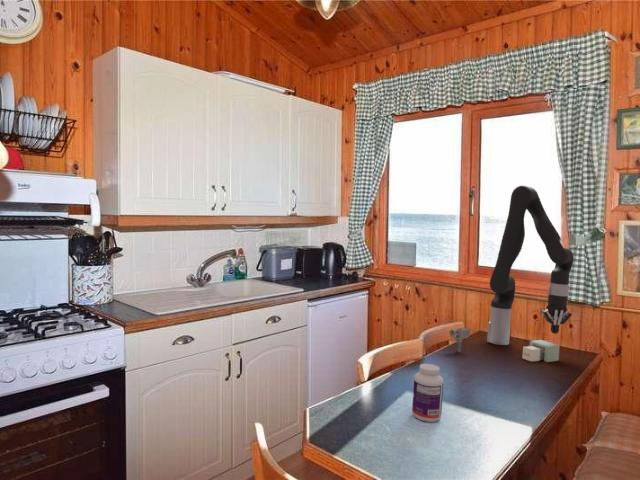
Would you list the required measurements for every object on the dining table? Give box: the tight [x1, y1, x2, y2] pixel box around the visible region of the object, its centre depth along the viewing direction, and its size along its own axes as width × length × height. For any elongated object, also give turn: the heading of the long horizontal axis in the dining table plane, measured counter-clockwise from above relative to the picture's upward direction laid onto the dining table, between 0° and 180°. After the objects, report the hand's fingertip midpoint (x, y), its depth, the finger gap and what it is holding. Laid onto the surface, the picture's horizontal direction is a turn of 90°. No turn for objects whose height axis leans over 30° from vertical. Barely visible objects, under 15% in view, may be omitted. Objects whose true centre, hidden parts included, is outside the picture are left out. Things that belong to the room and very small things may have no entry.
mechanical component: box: [449, 327, 471, 353], centre depth 192 cm, size 3×10×10 cm, turn 115°
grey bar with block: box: [522, 345, 545, 362], centre depth 188 cm, size 17×4×5 cm, turn 113°
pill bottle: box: [411, 363, 444, 423], centre depth 124 cm, size 8×8×14 cm
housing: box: [529, 339, 560, 363], centre depth 189 cm, size 7×9×6 cm
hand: (554, 333), depth 192 cm, fingers closed
